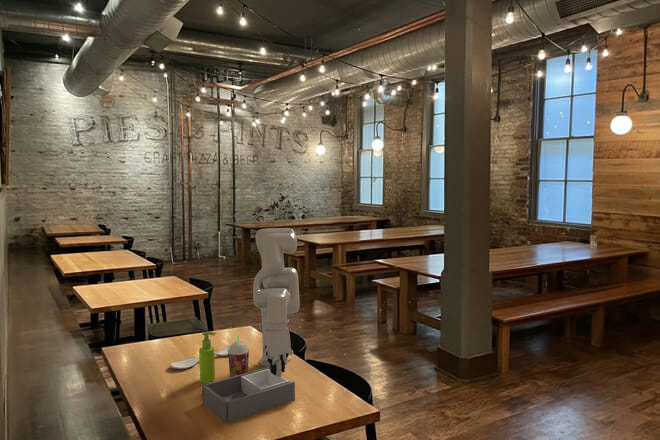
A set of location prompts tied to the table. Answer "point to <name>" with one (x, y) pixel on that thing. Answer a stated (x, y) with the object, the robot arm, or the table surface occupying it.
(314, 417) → the table surface
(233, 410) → the bay
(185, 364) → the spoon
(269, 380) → the drawer
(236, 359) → the smoothie
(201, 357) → the soap dispenser
